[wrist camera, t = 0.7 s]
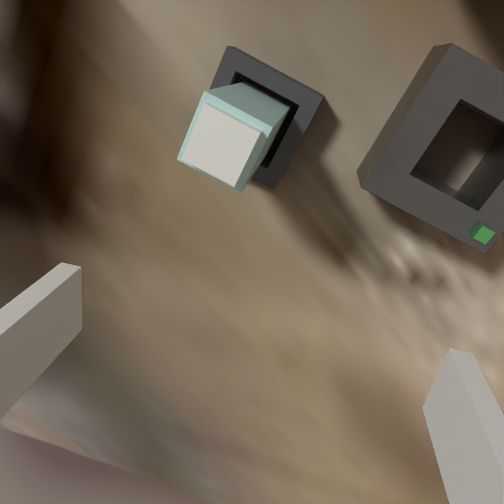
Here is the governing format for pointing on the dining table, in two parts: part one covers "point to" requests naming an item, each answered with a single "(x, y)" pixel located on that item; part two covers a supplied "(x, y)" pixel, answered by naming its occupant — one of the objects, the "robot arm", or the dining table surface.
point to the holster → (285, 86)
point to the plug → (232, 133)
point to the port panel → (420, 136)
